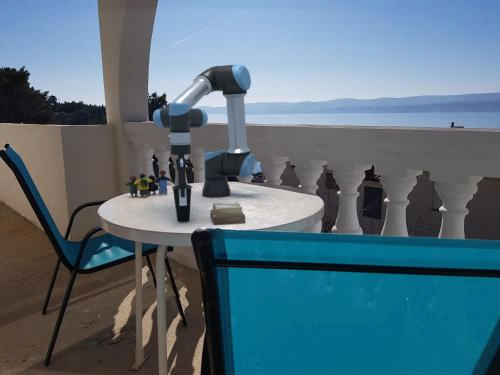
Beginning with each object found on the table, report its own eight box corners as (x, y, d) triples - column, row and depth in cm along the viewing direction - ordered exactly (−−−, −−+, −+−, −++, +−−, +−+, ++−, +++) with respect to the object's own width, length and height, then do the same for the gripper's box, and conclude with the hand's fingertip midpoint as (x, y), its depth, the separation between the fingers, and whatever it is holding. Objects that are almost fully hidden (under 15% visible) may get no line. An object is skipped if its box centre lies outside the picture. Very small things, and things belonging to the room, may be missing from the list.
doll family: (165, 192, 204) (164, 168, 202) (174, 194, 198) (173, 169, 195) (125, 198, 189) (123, 172, 187) (133, 200, 183) (131, 173, 180)
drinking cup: (174, 218, 149) (172, 169, 145) (193, 217, 150) (192, 168, 146) (172, 223, 141) (170, 171, 138) (192, 222, 142) (190, 171, 138)
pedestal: (210, 217, 151) (210, 201, 150) (239, 215, 153) (239, 200, 152) (213, 225, 139) (213, 208, 138) (245, 223, 142) (245, 207, 140)
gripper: (170, 142, 149) (172, 198, 153) (170, 145, 130) (173, 209, 134) (189, 142, 150) (191, 197, 155) (192, 145, 131) (194, 208, 136)
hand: (182, 203), depth 144 cm, fingers closed on drinking cup, 7 cm apart
